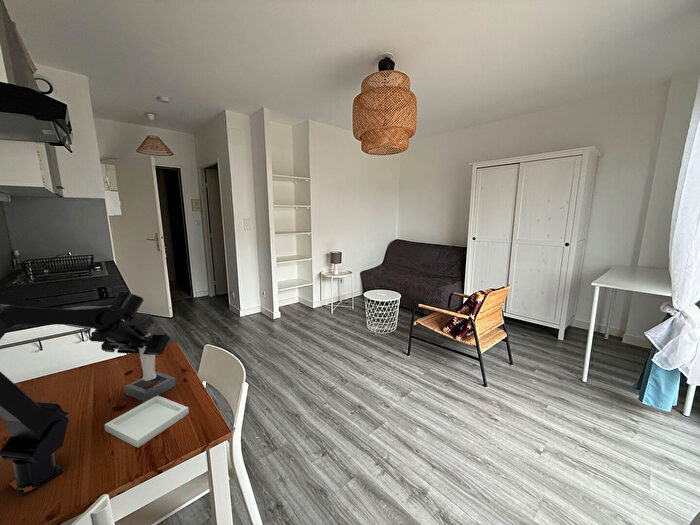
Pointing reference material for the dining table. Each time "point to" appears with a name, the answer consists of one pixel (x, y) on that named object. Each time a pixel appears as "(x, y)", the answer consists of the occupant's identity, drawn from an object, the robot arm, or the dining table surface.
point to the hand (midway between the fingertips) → (152, 352)
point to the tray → (146, 420)
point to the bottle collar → (144, 395)
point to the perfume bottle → (147, 364)
